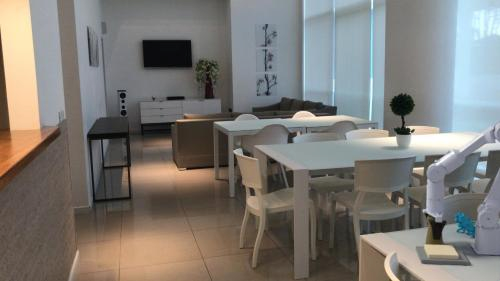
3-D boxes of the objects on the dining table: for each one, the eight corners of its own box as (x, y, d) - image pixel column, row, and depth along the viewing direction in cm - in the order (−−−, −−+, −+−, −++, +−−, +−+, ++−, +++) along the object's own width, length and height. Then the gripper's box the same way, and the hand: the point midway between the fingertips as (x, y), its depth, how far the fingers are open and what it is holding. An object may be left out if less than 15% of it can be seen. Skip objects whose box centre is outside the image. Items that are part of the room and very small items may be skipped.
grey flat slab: (458, 250, 161) (459, 243, 161) (468, 265, 150) (468, 257, 149) (415, 249, 164) (415, 242, 164) (421, 263, 152) (421, 255, 152)
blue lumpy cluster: (468, 235, 171) (452, 212, 176) (456, 243, 175) (441, 220, 180) (485, 233, 177) (470, 210, 182) (473, 241, 181) (459, 218, 186)
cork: (422, 242, 170) (422, 212, 169) (438, 241, 171) (438, 211, 169) (430, 248, 164) (430, 218, 163) (446, 247, 165) (447, 216, 163)
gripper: (419, 192, 173) (419, 228, 175) (426, 203, 159) (426, 242, 161) (440, 192, 172) (439, 229, 174) (449, 204, 157) (448, 243, 159)
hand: (434, 235), depth 167 cm, fingers open, 7 cm apart
